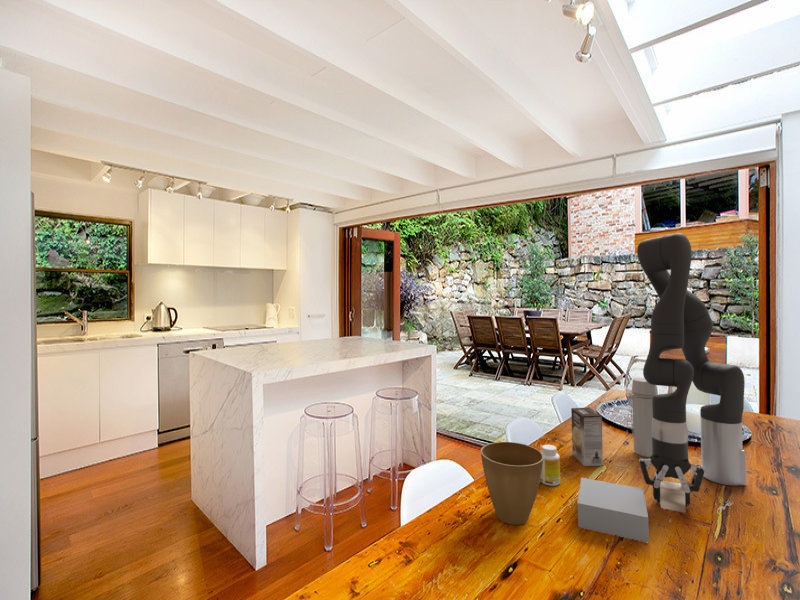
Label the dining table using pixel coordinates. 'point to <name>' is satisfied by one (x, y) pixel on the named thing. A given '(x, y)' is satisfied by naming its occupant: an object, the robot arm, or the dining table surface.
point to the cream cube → (672, 496)
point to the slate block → (613, 509)
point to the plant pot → (512, 479)
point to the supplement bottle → (550, 466)
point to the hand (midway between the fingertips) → (671, 502)
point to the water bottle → (642, 416)
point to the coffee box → (587, 436)
